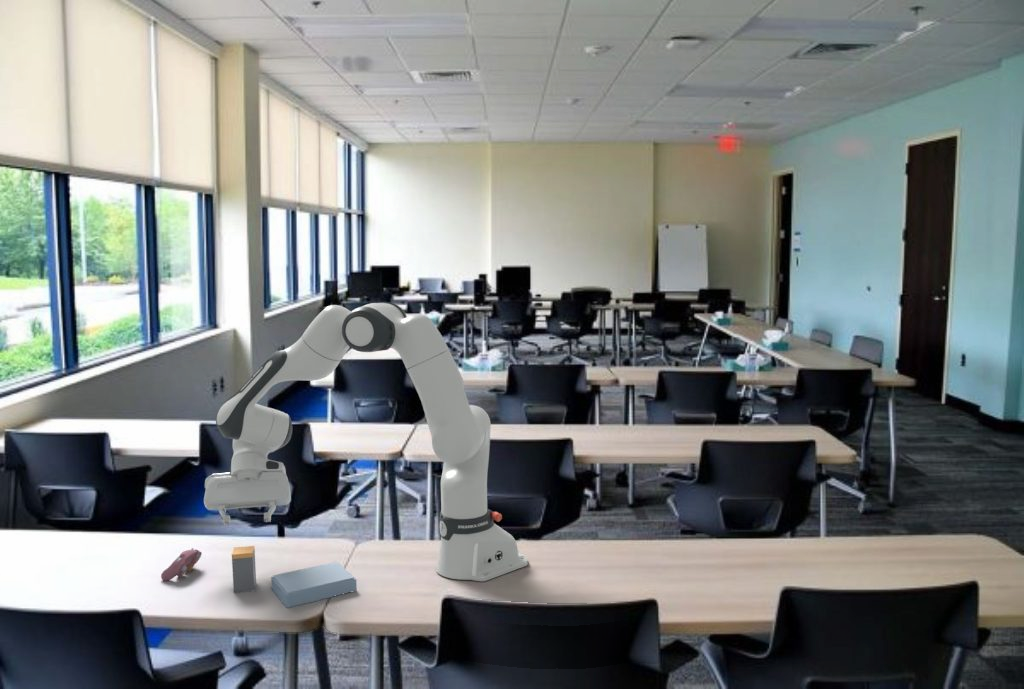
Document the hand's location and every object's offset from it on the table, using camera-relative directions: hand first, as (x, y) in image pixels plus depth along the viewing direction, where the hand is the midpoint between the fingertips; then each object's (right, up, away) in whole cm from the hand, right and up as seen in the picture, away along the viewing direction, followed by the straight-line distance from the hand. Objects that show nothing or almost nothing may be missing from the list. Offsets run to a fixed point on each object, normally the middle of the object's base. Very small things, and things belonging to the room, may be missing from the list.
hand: (246, 522), depth 200 cm
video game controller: (-16, -13, +1) cm, 20 cm away
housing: (+2, -13, -7) cm, 16 cm away
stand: (+18, -13, -9) cm, 25 cm away
